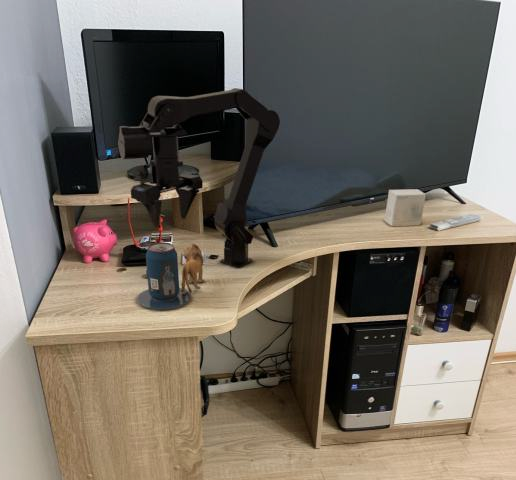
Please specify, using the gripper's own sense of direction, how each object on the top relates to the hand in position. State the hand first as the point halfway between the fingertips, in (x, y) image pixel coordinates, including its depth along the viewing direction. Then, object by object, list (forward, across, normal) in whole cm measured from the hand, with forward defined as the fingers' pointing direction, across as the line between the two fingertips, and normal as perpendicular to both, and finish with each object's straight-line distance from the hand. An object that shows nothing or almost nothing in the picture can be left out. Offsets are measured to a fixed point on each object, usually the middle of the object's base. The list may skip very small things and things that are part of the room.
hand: (170, 222), depth 133 cm
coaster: (+13, +13, +10) cm, 21 cm away
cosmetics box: (+13, -79, +28) cm, 85 cm away
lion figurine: (+13, +4, +10) cm, 17 cm away
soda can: (+13, +13, +10) cm, 21 cm away
